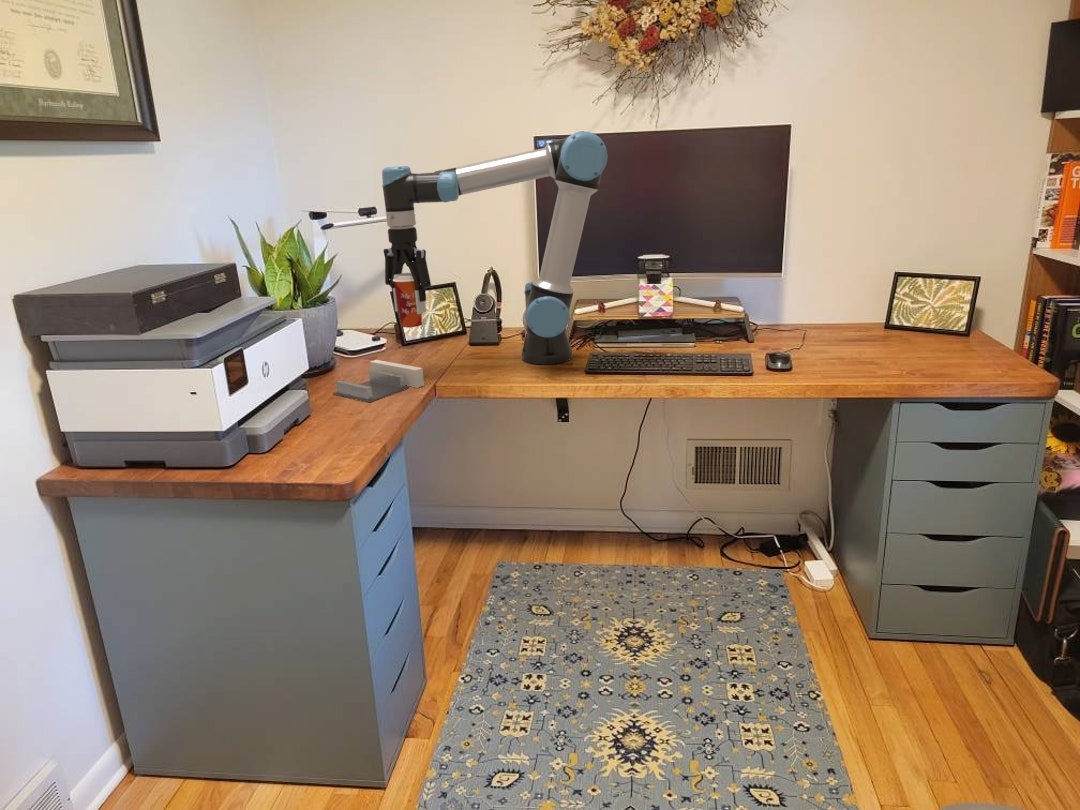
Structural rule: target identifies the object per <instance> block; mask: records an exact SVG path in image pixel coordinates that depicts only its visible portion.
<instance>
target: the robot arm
mask: <svg viewBox="0 0 1080 810" xmlns="http://www.w3.org/2000/svg"><path fill="white" fill-rule="evenodd" d="M608 157H609V156H608V149H607V147H606V144H605V143H604V141H603V139H602V138H600V136H598V135H597V134H595V133H594V132H590V131H584V130H582V131H576V132H574V133H572V134H570V135H569V136H566V137H564V138H562V139H559V140H557V141H551V142H548V143H546V145H545V147H543V148H538V149H533V150H528V151H525V152H520V153H515V154H511V155H506V156H502V157H497V158H493V159H487V160H483V161H478V162H476V163H475V162H474V163H469V164H466V165H461V166H460V165H459V166H456V167H452V168H447V169H441V170H437V171H433V172H424V173H421V172H420V173H412V170H411V168H410V166H386V167H384V168H383V169H382V170H381V174H382V175H381V177H382V191H383V199H384V200H383V201H384V206H385V215H386V216H385V218H386V224H387V228H388V230H387V236H388V237H387V238H388V242H389V243H390V244H391V246H390V247H389V248H384V249H383V254H384V255H383V256H384V279H385V280H384V283H385V284H384V285H386V286H389V287H390V289H391V293H392V300H393V301H394V311H395V313H397V312H398V313H399V308H398V303H397V297H396V290H395V284H394V281H393V279H394V275H396V274H400V273H403V268H404V265H406V267H408V269H409V273H411V275H412V277H413V280H414V282H415V285H416V287H417V288H416V289H415V297H416V307H417V314H425V313H427V309H426V301H427V294H426V293H427V292H426V289H427V288H429V287H432V283H431V277H430V274H429V269H428V264H427V263H428V262H427V260H426V259H427V258H426V257H427V256H426V255H427V251H426V249H419V248H418V247H417V244H416V242H417V241H418V233H417V228H416V224H417V221H416V214H415V204H421V203H423V204H425V203H426V204H427V203H429V204H430V203H450V202H456V201H457V200H458V199H459V196H462V195H467V194H472V193H478V192H482V191H486V190H491V189H495V188H501V187H505V186H510V185H513V184H520V183H523V182H528V181H533V180H539V179H544V178H546V177H547V178H548V177H551V178H552V179H554V182H555V183H556V185H557V188H558V191H557V196H556V201H555V203H554V208H553V213H552V214H553V215H552V218H551V221H550V222H551V223H550V228H549V232H548V235H547V240H546V245H545V251H544V253H543V258H542V263H541V268H540V273H539V276H538V278H537V279H534V280H533V281H530V282H527V283H526V284H525V286H524V295H525V298H524V301H525V316H524V317H525V323H526V335H525V338H524V339H525V340H524V344H523V346H522V350H521V360H522V361H523V362H525V363H528V364H532V363H533V364H534V365H554V364H555V363H557V364H561V363H560V362H563V363H565V362H564V361H566V362H568V361H567V360H569V359H571V358H572V359H573V349H572V346H571V343H570V340H569V338H568V337H569V336H568V333H567V329H566V328H567V326H568V324H569V322H570V319H571V317H570V309H571V305H572V301H573V296H574V292H575V291H574V290H573V288H572V285H571V280H572V275H573V272H574V268H575V264H576V260H577V255H578V251H579V247H580V242H581V238H582V234H583V230H584V225H585V221H586V216H587V213H588V208H589V204H590V200H591V196H592V195H594V194H595V193H597V192H598V191H599V187H600V182H601V178H602V176H603V175H602V174H603V172H604V170H605V168H606V166H607V163H608ZM572 359H571V360H572ZM569 361H570V360H569Z"/></svg>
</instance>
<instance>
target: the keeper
mask: <svg viewBox="0 0 1080 810" xmlns="http://www.w3.org/2000/svg"><path fill="white" fill-rule="evenodd" d="M368 377H369V380H367V381H364V382H361V383H354V382H349V381H344V380H338V381H335V386H336V391H334V392H333V393H332V394H333V396H334V395H335V396H338V395H339V396H338V397H342V396H344V397H343V398H346V397H348V398H347V399H351V398H352V400H355V399H357V400H356V401H360V400H361V401H360V402H364V401H365V403H368V402H371V403H373V402H376V401H378V400H377V399H379V400H381V399H380V398H382V399H384V398H386V397H385V396H387V397H389V396H388V395H390V396H392V395H395V394H398V393H400V392H399V391H401V390H403V391H405V390H404V389H406V390H408V389H407V388H409V389H410V387H409V386H405V383H404V376H402V375H397V374H392V373H386V372H381V371H376V370H371V369H370V370H369V371H368ZM397 392H398V393H397ZM401 392H402V391H401ZM394 393H395V394H394ZM391 394H392V395H391ZM383 397H384V398H383ZM375 400H376V401H375ZM372 401H373V402H372Z"/></svg>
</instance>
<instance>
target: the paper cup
mask: <svg viewBox="0 0 1080 810" xmlns="http://www.w3.org/2000/svg"><path fill="white" fill-rule="evenodd" d="M393 281H394V284H395V290H396V297H397V303H398V308H399V311H398V313H399V318H400V319H399V320H400V324H401V327H403V328H415V327H420V326H422V324H423V318H422V314H423V313H422V314H417V307H416V297H415V289H416V288H417V287H416V285H415V282H414V280H413V277H412V275H411V272H402V273H400V274H396V275H394V279H393Z"/></svg>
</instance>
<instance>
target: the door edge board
mask: <svg viewBox="0 0 1080 810" xmlns="http://www.w3.org/2000/svg"><path fill="white" fill-rule="evenodd" d="M369 366H370V371H371V370H376V371H381V372H386V373H392V374H397V375H402V376H404V383H405V385H407V386H408V387H409V386H411V387H410V388H414V387H415V388H414V389H419V387H420V388H422V387H421V386H423V387H425V382H424V370H423V367H419V366H413V365H407V364H401V363H397V362H393V361H392V362H390V361H384V360H380V359H375V360H371V361H369Z"/></svg>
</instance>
